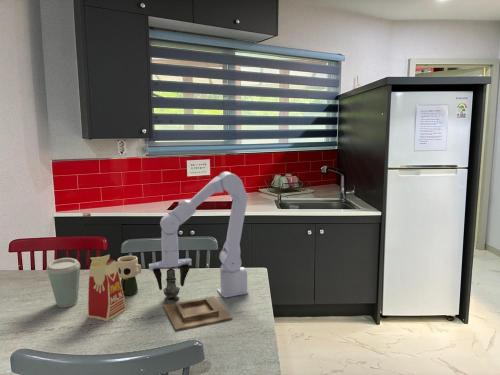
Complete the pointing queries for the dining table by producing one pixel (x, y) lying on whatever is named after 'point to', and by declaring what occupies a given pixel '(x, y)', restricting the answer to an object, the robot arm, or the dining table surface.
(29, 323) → the dining table surface
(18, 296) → the dining table surface
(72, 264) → the disposable coffee cup
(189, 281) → the dining table surface
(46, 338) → the dining table surface
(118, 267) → the character mug
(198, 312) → the walnut holder
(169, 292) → the salt shaker
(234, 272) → the robot arm
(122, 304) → the milk carton
